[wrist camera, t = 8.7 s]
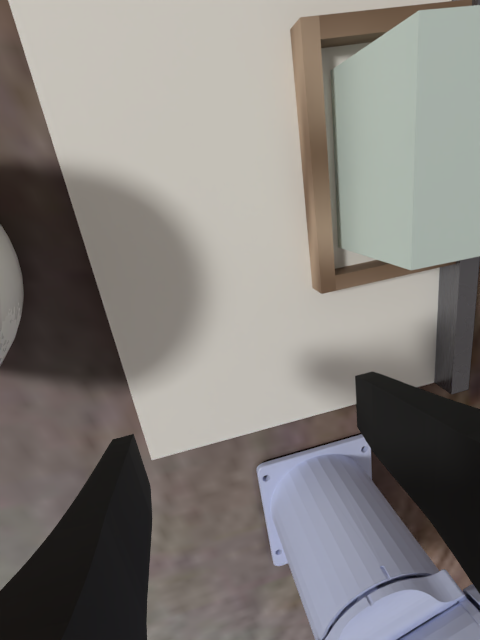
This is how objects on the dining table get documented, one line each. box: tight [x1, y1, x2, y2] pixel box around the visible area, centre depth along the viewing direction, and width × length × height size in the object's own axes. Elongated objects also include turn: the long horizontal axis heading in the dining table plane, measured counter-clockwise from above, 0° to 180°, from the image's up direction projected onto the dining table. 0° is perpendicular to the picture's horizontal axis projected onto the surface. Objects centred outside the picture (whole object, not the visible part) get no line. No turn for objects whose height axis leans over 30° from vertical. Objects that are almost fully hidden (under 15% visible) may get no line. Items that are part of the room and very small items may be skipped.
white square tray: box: [8, 0, 480, 460], centre depth 18 cm, size 24×20×2 cm
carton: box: [331, 5, 480, 270], centre depth 16 cm, size 5×8×6 cm, turn 8°
